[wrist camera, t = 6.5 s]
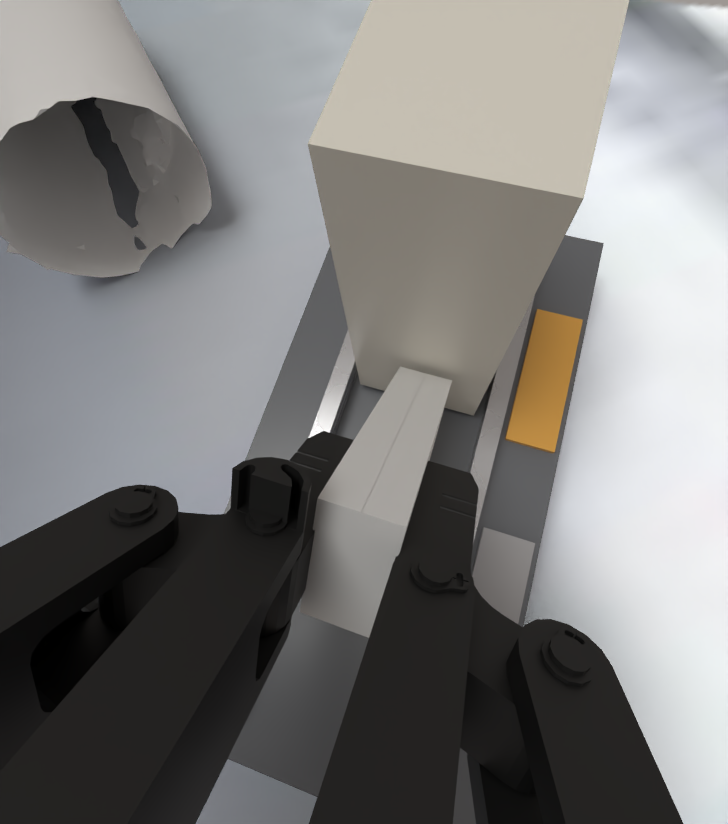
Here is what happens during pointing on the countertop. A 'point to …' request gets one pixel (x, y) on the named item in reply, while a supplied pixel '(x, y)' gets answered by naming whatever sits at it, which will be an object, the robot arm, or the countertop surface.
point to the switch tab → (457, 173)
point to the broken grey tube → (68, 147)
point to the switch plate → (454, 447)
